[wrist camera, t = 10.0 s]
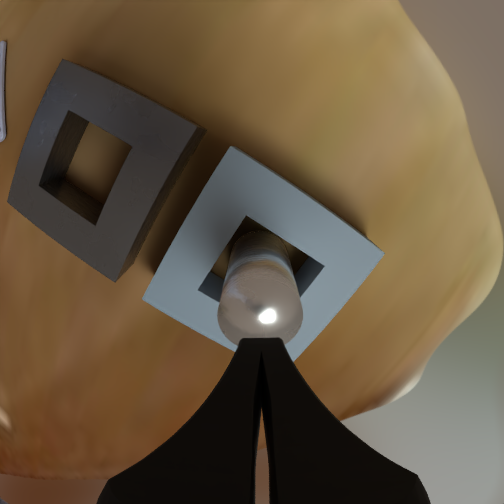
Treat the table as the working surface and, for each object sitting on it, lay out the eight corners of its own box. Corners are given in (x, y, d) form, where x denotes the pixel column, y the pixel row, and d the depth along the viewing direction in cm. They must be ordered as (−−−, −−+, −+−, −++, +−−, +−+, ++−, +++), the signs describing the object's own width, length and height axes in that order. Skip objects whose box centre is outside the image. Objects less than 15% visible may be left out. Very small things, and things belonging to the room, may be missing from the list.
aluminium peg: (218, 256, 19) (199, 314, 12) (261, 218, 18) (264, 261, 11) (256, 294, 20) (256, 363, 13) (299, 260, 19) (320, 319, 12)
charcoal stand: (32, 193, 17) (7, 202, 15) (86, 67, 15) (62, 58, 12) (133, 263, 19) (115, 282, 16) (207, 130, 16) (197, 126, 13)
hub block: (156, 278, 20) (141, 299, 17) (235, 146, 17) (230, 145, 14) (278, 346, 21) (281, 374, 18) (367, 237, 18) (385, 253, 15)
